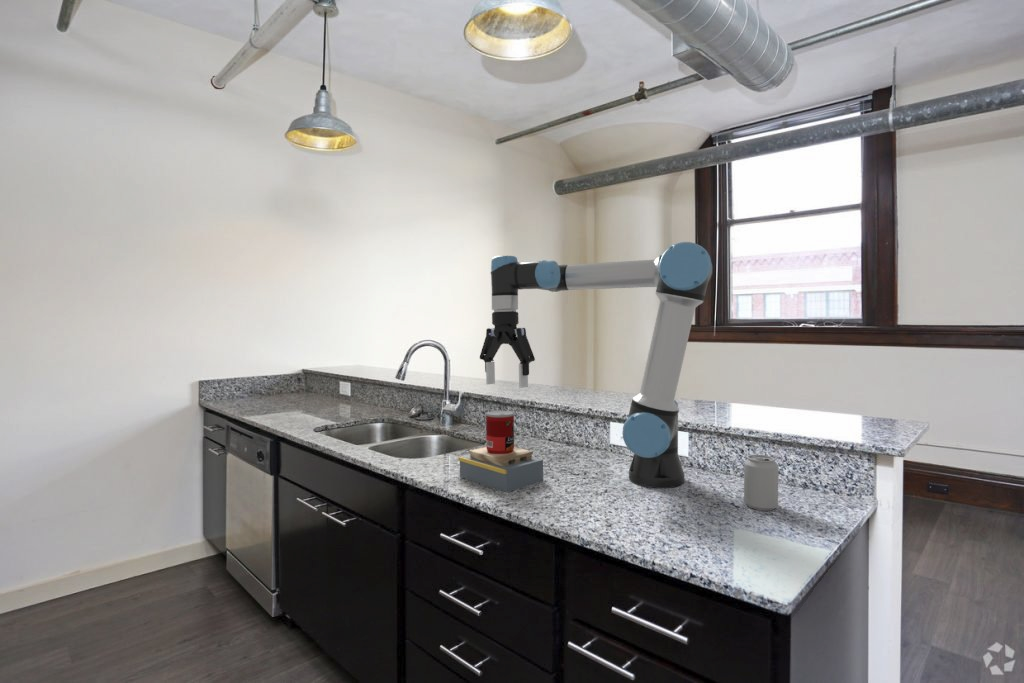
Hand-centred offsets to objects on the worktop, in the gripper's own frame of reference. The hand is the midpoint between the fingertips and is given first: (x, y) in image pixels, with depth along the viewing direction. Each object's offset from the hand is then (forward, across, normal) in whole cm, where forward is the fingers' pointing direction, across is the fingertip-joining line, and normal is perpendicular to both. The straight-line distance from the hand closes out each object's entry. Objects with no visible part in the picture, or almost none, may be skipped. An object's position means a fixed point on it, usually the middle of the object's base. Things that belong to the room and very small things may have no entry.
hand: (506, 385), depth 152 cm
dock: (+27, +1, +2) cm, 27 cm away
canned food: (+19, +1, +2) cm, 19 cm away
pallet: (+21, +1, +2) cm, 21 cm away
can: (+28, -60, -26) cm, 71 cm away
